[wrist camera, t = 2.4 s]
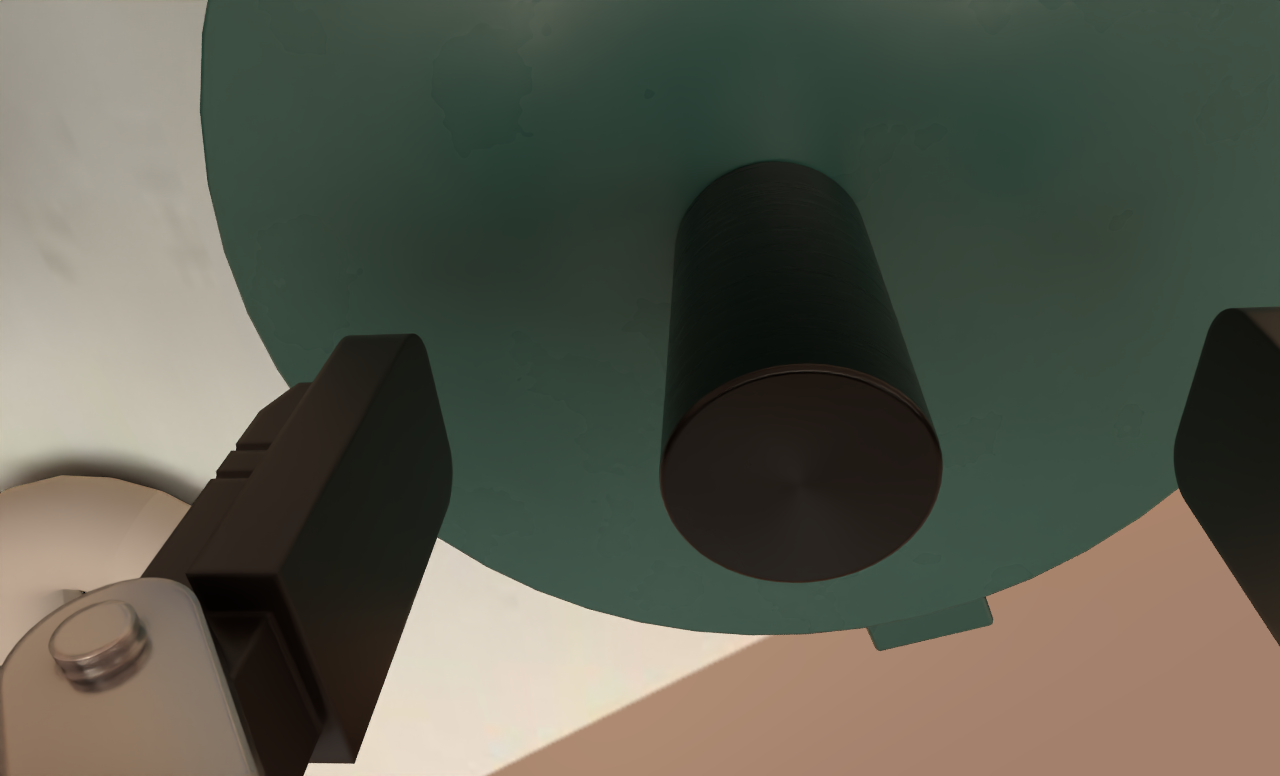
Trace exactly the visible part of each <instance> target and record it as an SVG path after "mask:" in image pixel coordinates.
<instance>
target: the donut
mask: <svg viewBox="0 0 1280 776" xmlns="http://www.w3.org/2000/svg"><path fill="white" fill-rule="evenodd" d="M190 507H191V505H189V504H187V503H185V502H183V501H181V500H179V499H177V498H175V497H173V496H171V495H169V494H167V493H165V492H163V491H160V490H156V489H152V488H149V487H145V486H142V485H138V484H134V483H131V482H127V481H124V480H120V479H115V478H110V477H88V476H67V475H61V476H57V477H53V478H49V479H44V480H40V481H36V482H32V483H28V484H24V485H20V486H17V487H13V488H9V489H6V490H5V491H3V492H2V493H0V666H2V664H3V662H4V661H5V659H6V657H7V655H8V654H9V653H10V651H11V650H12V649H13V647H14V646H15V645H16V643H17V642H18V641H19V640H20V639H21V638H22V637H23V636H24V635H25V634H26V633H27V632H28V631H29V630H30V629H31V628H32V627H33V626H34V625H36V624H37V623H38V622H39V621H40V620H42V619H43V618H44V617H45V616H47V615H48V614H50V613H51V612H53V611H54V610H56V609H57V608H58V607H60V606H62V605H64V604H65V603H67V602H69V601H71V600H72V599H74V598H76V597H78V596H81V595H83V594H84V593H83V592H82V591H85V592H89V591H91V590H94V589H97V588H100V587H102V586H105V585H108V584H112V583H116V582H119V581H123V580H129V579H136V578H140V577H141V575H142V574H143V573H144V571H145V570H146V568H147V567H148V566H149V564H150V563H151V561H152V560H153V559H154V557H155V556H156V554H157V553H158V552H159V550H160V549H161V547H162V546H163V545H164V543H165V542H166V541H167V539H168V538H169V536H170V535H171V534H172V532H173V531H174V529H175V528H176V527H177V525H178V524H179V522H180V521H181V520H182V518H183V517H184V516H185V514H186V513H187V511H188V510H189V509H190Z"/></svg>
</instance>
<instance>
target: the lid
mask: <svg viewBox="0 0 1280 776" xmlns="http://www.w3.org/2000/svg"><path fill="white" fill-rule="evenodd" d="M200 116H201V125H202V134H203V144H204V153H205V162H206V172H207V181H208V187H209V191H210V195H211V199H212V204H213V208H214V212H215V216H216V220H217V224H218V228H219V232H220V237H221V241H222V245H223V249H224V253H225V255H226V258H227V260H228V263H229V266H230V268H231V271H232V274H233V276H234V279H235V281H236V284H237V287H238V289H239V292H240V295H241V297H242V300H243V303H244V305H245V308H246V310H247V313H248V315H249V317H250V319H251V321H252V323H253V325H254V326H255V328H256V330H257V332H258V334H259V336H260V338H261V340H262V342H263V344H264V345H265V347H266V349H267V351H268V353H269V355H270V357H271V359H272V361H273V362H274V364H275V366H276V368H277V370H278V371H279V373H280V374H281V376H282V377H283V379H284V380H285V382H286V383H287V385H288V386H289V387H290V389H291V388H292V387H293V386H295V385H296V384H297V383H304V382H313V381H314V379H315V378H316V376H317V375H318V373H319V372H320V370H321V369H322V367H323V366H324V364H325V363H326V361H327V360H328V358H329V357H330V355H331V354H332V352H333V351H334V349H335V348H336V346H337V345H338V343H339V342H340V340H341V339H342V338H344V337H345V336H349V335H378V334H408V333H414V334H417V335H418V336H419V337H420V338H421V339H422V341H423V343H424V345H425V347H426V350H427V354H428V357H429V362H430V366H431V370H432V374H433V378H434V382H435V387H436V391H437V395H438V399H439V403H440V408H441V412H442V416H443V420H444V424H445V429H446V433H447V437H448V441H449V445H450V450H451V456H452V467H453V480H452V492H451V498H450V502H449V506H448V509H447V512H446V515H445V517H444V520H443V523H442V525H441V528H440V531H439V534H438V536H437V537H438V538H440V539H441V540H443V541H445V542H446V543H448V544H450V545H451V546H453V547H455V548H456V549H458V550H460V551H461V552H463V553H465V554H466V555H468V556H470V557H471V558H473V559H475V560H476V561H478V562H480V563H481V564H483V565H485V566H486V567H488V568H490V569H493V570H495V571H497V572H499V573H501V574H503V575H505V576H507V577H510V578H512V579H514V580H516V581H518V582H520V583H522V584H524V585H526V586H529V587H531V588H533V589H535V590H537V591H540V592H543V593H546V594H548V595H551V596H554V597H557V598H559V599H562V600H565V601H568V602H571V603H573V604H576V605H579V606H582V607H584V608H587V609H591V610H595V611H599V612H602V613H606V614H610V615H614V616H618V617H622V618H626V619H630V620H633V621H637V622H641V623H647V624H654V625H660V626H666V627H672V628H678V629H684V630H690V631H699V632H713V633H726V634H740V635H783V634H784V635H785V634H786V635H790V634H811V633H812V634H813V633H822V632H832V631H841V630H850V629H860V628H866V627H871V626H876V625H881V624H886V623H891V622H897V621H902V620H907V619H912V618H917V617H921V616H924V615H928V614H931V613H935V612H938V611H942V610H945V609H948V608H952V607H955V606H959V605H962V604H966V603H969V602H973V601H976V600H978V599H981V598H983V597H986V596H988V595H991V594H994V593H996V592H999V591H1001V590H1004V589H1006V588H1009V587H1011V586H1014V585H1017V584H1019V583H1022V582H1024V581H1027V580H1029V579H1032V578H1034V577H1036V576H1038V575H1039V574H1042V573H1044V572H1045V571H1048V570H1050V569H1052V568H1054V567H1056V566H1058V565H1060V564H1062V563H1063V562H1066V561H1068V560H1070V559H1072V558H1074V557H1075V556H1078V555H1080V554H1081V553H1084V552H1086V551H1087V550H1089V549H1091V548H1092V547H1094V546H1095V545H1097V544H1099V543H1100V542H1102V541H1103V540H1105V539H1107V538H1108V537H1110V536H1112V535H1113V534H1115V533H1116V532H1118V531H1119V530H1121V529H1123V528H1124V527H1126V526H1127V525H1129V524H1131V523H1132V522H1134V521H1136V520H1137V519H1139V518H1140V517H1141V516H1143V515H1144V514H1146V513H1147V512H1148V511H1149V510H1151V509H1152V508H1153V507H1155V506H1156V505H1157V504H1159V503H1160V502H1161V501H1162V500H1164V499H1165V498H1166V497H1168V496H1169V495H1170V494H1171V493H1173V492H1174V491H1176V490H1177V489H1178V488H1179V487H1178V484H1177V480H1176V476H1175V469H1174V444H1175V438H1176V434H1177V431H1178V428H1179V424H1180V421H1181V418H1182V414H1183V411H1184V408H1185V405H1186V401H1187V398H1188V395H1189V391H1190V388H1191V385H1192V382H1193V378H1194V375H1195V372H1196V368H1197V365H1198V362H1199V359H1200V355H1201V352H1202V349H1203V345H1204V342H1205V339H1206V336H1207V333H1208V330H1209V327H1210V325H1211V323H1212V322H1213V320H1214V319H1215V317H1216V316H1217V315H1218V314H1219V313H1220V312H1221V311H1223V310H1225V309H1229V308H1246V307H1277V306H1280V0H208V2H207V8H206V14H205V20H204V26H203V32H202V59H201V95H200Z"/></svg>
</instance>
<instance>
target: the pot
mask: <svg viewBox="0 0 1280 776" xmlns="http://www.w3.org/2000/svg"><path fill="white" fill-rule="evenodd" d="M992 623H993V617H992V614H991V611H990V608H989V605H988V602H987V600H986V597H983V598H981V599H978V600H976V601H973V602H969V603H966V604H962V605H959V606H955V607H952V608H948V609H945V610H942V611H938V612H935V613H931V614H928V615H924V616H921V617H917V618H912V619H907V620H902V621H897V622H891V623H886V624H881V625H876V626H871V627H866V628H867V631H868V633H869V635H870V637H871V639H872V642H873V644H874V646H875V648H876V649H877V650H879V651H882V650H886V649H891V648H895V647H899V646H903V645H908V644H912V643H916V642H921V641H925V640H929V639H934V638H938V637H942V636H946V635H951V634H955V633H959V632H963V631H968V630H972V629H976V628H980V627H985V626H989V625H991V624H992Z"/></svg>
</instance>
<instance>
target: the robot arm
mask: <svg viewBox="0 0 1280 776" xmlns="http://www.w3.org/2000/svg"><path fill="white" fill-rule="evenodd" d="M1174 469H1175V476H1176V480H1177V484H1178V487H1179V489H1180V492H1181V494H1182V496H1183V498H1184V500H1185V502H1186V503H1187V505H1188V506H1189V508H1190V509H1191V511H1192V512H1193V514H1194V515H1195V517H1196V519H1197V520H1198V522H1199V523H1200V525H1201V526H1202V528H1203V529H1204V531H1205V532H1206V534H1207V535H1208V537H1209V538H1210V540H1211V541H1212V543H1213V545H1214V546H1215V548H1216V549H1217V551H1218V552H1219V554H1220V555H1221V557H1222V558H1223V560H1224V561H1225V563H1226V565H1227V566H1228V568H1229V569H1230V571H1231V572H1232V574H1233V575H1234V577H1235V578H1236V580H1237V581H1238V583H1239V584H1240V586H1241V588H1242V589H1243V591H1244V592H1245V594H1246V595H1247V597H1248V598H1249V600H1250V601H1251V603H1252V604H1253V606H1254V608H1255V609H1256V611H1257V612H1258V614H1259V615H1260V617H1261V618H1262V620H1263V621H1264V623H1265V624H1266V626H1267V628H1268V629H1269V631H1270V632H1271V634H1272V635H1273V637H1274V638H1275V640H1276V641H1277V643H1278V644H1279V646H1280V306H1277V307H1246V308H1229V309H1225V310H1223V311H1221V312H1220V313H1219V314H1218V315H1217V316H1216V317H1215V319H1214V320H1213V322H1212V323H1211V325H1210V327H1209V330H1208V333H1207V336H1206V339H1205V342H1204V345H1203V349H1202V352H1201V355H1200V359H1199V362H1198V365H1197V368H1196V372H1195V375H1194V378H1193V382H1192V385H1191V388H1190V391H1189V395H1188V398H1187V401H1186V405H1185V408H1184V411H1183V414H1182V418H1181V421H1180V424H1179V428H1178V431H1177V434H1176V438H1175V444H1174ZM216 474H217V476H216V479H210V481H209V482H208V484H207V485H206V486H205V488H204V489H203V491H202V492H201V493H200V495H199V496H198V497H197V499H196V500H195V502H194V503H193V504H192V506H191V507H190V509H189V510H188V511H187V513H186V514H185V516H184V517H183V518H182V520H181V521H180V522H179V524H178V525H177V527H176V528H175V529H174V531H173V532H172V534H171V535H170V536H169V538H168V539H167V541H166V542H165V543H164V545H163V546H162V547H161V549H160V550H159V552H158V553H157V554H156V556H155V557H154V559H153V560H152V561H151V563H150V564H149V566H148V567H147V568H146V570H145V571H144V573H143V574H142V575H141V577H140V578H136V579H129V580H123V581H119V582H116V583H112V584H108V585H105V586H102V587H100V588H97V589H94V590H91V591H89V592H87V593H85V594H83V595H81V596H78V597H76V598H74V599H72V600H71V601H69V602H67V603H65V604H64V605H62V606H60V607H58V608H57V609H56V610H54V611H53V612H51V613H50V614H48V615H47V616H45V617H44V618H43V619H42V620H40V621H39V622H38V623H37V624H36V625H34V626H33V627H32V628H31V629H30V630H29V631H28V632H27V633H26V634H25V635H24V636H23V637H22V638H21V639H20V640H19V641H18V642H17V643H16V645H15V646H14V647H13V649H12V650H11V651H10V653H9V654H8V655H7V657H6V659H5V661H4V662H3V664H2V666H0V776H303V775H304V773H305V770H306V768H307V765H308V763H351V764H354V763H355V761H356V758H357V755H358V752H359V750H360V747H361V744H362V741H363V739H364V736H365V733H366V730H367V728H368V725H369V722H370V720H371V717H372V714H373V711H374V709H375V706H376V703H377V700H378V698H379V695H380V692H381V689H382V687H383V684H384V681H385V679H386V676H387V673H388V670H389V668H390V665H391V662H392V659H393V657H394V654H395V651H396V648H397V646H398V643H399V640H400V638H401V635H402V632H403V629H404V627H405V624H406V621H407V618H408V616H409V613H410V610H411V607H412V605H413V602H414V599H415V597H416V594H417V591H418V588H419V586H420V583H421V580H422V577H423V575H424V572H425V569H426V566H427V564H428V561H429V558H430V556H431V553H432V550H433V547H434V545H435V542H436V539H437V536H438V534H439V531H440V528H441V525H442V523H443V520H444V517H445V515H446V512H447V509H448V506H449V502H450V498H451V492H452V480H453V467H452V456H451V450H450V445H449V441H448V437H447V433H446V429H445V424H444V420H443V416H442V412H441V408H440V403H439V399H438V395H437V391H436V387H435V382H434V378H433V374H432V370H431V366H430V362H429V357H428V354H427V350H426V347H425V345H424V343H423V341H422V339H421V338H420V337H419V336H418V335H417V334H414V333H408V334H378V335H349V336H345V337H344V338H342V339H341V340H340V342H339V343H338V345H337V346H336V348H335V349H334V351H333V352H332V354H331V355H330V357H329V358H328V360H327V361H326V363H325V364H324V366H323V367H322V369H321V370H320V372H319V373H318V375H317V376H316V378H315V379H314V381H313V382H304V383H297V384H296V385H295V386H293V387H292V388H291V389H289V390H288V391H286V392H285V393H284V394H282V395H281V396H280V397H278V398H277V399H276V400H274V401H273V402H271V403H270V404H269V405H267V406H266V407H265V408H263V409H262V410H261V411H259V413H258V414H257V415H256V417H255V418H254V420H253V421H252V422H251V424H250V425H249V427H248V428H247V429H246V431H245V432H244V434H243V435H242V436H241V438H240V439H239V440H238V442H237V443H236V451H231V452H230V453H229V454H228V456H227V457H226V459H225V460H224V461H223V463H222V464H221V466H220V467H219V468H218V470H217V471H216Z"/></svg>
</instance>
